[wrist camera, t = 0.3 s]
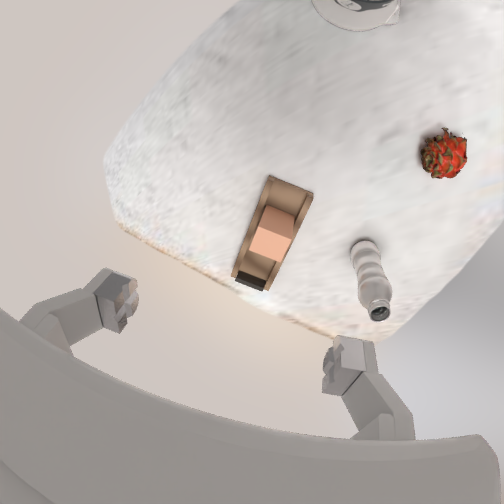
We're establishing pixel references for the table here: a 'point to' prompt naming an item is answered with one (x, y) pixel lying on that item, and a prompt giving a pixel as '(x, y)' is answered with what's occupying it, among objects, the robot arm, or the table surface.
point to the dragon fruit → (444, 155)
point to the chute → (248, 262)
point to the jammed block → (273, 234)
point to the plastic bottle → (371, 280)
